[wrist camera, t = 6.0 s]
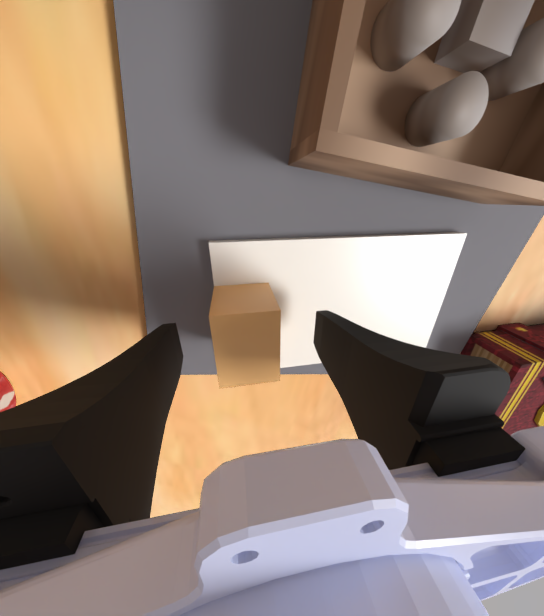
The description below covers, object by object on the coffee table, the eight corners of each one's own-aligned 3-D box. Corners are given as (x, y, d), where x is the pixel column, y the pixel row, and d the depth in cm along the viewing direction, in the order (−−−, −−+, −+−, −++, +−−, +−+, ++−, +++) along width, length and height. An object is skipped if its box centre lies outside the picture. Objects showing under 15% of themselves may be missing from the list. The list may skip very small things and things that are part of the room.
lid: (458, 232, 14) (537, 244, 10) (419, 346, 18) (467, 384, 14) (209, 240, 12) (200, 260, 8) (225, 368, 16) (224, 420, 12)
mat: (650, 19, 11) (664, 14, 11) (444, 370, 20) (448, 373, 20) (91, -275, 6) (82, -303, 6) (153, 370, 15) (151, 374, 15)
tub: (576, 9, 10) (763, -93, 7) (482, 203, 13) (572, 206, 10) (329, -112, 8) (415, -380, 4) (287, 165, 11) (315, 150, 7)
